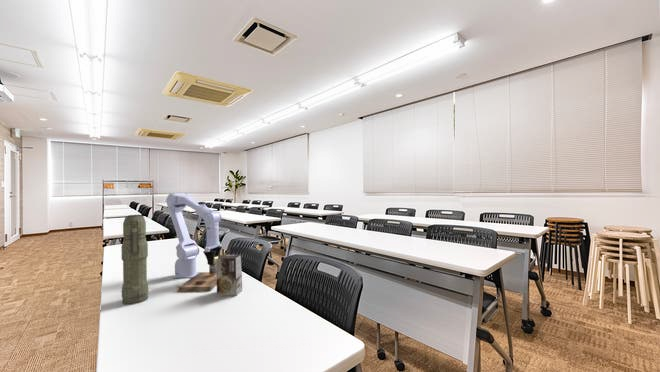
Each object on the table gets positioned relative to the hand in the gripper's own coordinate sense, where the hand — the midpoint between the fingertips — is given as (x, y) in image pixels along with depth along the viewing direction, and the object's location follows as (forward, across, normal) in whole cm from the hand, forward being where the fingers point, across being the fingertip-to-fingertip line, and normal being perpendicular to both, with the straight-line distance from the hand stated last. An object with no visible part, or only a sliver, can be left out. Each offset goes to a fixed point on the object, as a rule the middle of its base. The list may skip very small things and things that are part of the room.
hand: (213, 263), depth 137 cm
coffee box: (+8, -18, -14) cm, 25 cm away
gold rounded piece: (+5, 0, 0) cm, 5 cm away
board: (+8, -6, +2) cm, 10 cm away
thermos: (+8, -24, +22) cm, 34 cm away
